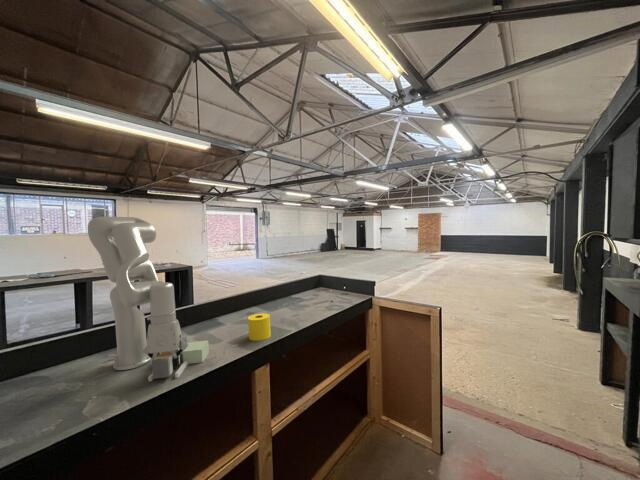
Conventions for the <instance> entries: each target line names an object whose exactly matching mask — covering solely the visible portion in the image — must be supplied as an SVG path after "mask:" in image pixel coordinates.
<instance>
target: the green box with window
mask: <svg viewBox="0 0 640 480" xmlns="http://www.w3.org/2000/svg"><path fill="white" fill-rule="evenodd" d="M181 335H182V339H183V340H184V341H185V342H186V343H187V344H188V347H187V348H186V349H185V350H184V351H183V352H181V354H180V364H179V365H178V366H179V368H178V369H177V370H176V371H175V373H174V378H175V379H179V377H180V376H181V374H182V373H183V372H184V371H185V369H186V368H187V366H188V365H192V364H193V365H194V364H199V363H204V361H205V359H206V358H207V356H208V355H209V353H210V348H209V346H210V345H209V340H208V339H207V340H200V341H199V340H198V341H189V342H188V339H187V337H188V336H187V334H186V333H185V332H184V333H183V332H181ZM181 348H182V346H179V350H180V349H181ZM147 380H148V382H152V381H153V380H154V379H153V372H152V373H150V374H149V375H148V378H147Z"/></svg>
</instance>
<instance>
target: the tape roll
mask: <svg viewBox="0 0 640 480" xmlns="http://www.w3.org/2000/svg"><path fill="white" fill-rule="evenodd" d="M247 322H248V325H247V327H248V339H249V340H250V341H255V342H256V341H257V342H258V341H264V340H267V339H270V337H271V336H272V332H271V315H270V314H268V313H265V312H264V313H254V314H252V315H249V316H248V318H247Z"/></svg>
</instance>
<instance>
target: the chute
mask: <svg viewBox="0 0 640 480" xmlns="http://www.w3.org/2000/svg"><path fill="white" fill-rule="evenodd" d="M178 349H179V348H178ZM172 359H173V355H172V352H163V353H160V354H159V355H158V356H157V357H155V358H154V359H153V360H152V359H151V370H152V372H153V380H155V379H164V378H169V377H170V376H171V375H172V373H173V372H174V371H175V370H173V361H172ZM179 364H180V355H179Z"/></svg>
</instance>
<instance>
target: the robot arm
mask: <svg viewBox="0 0 640 480" xmlns="http://www.w3.org/2000/svg"><path fill="white" fill-rule="evenodd" d="M87 235H88V238H89V240H90V242H91V244H92V245H93V247H94V248H95V249H96V251H97V252H98V254H99V256H100V259H101V262H102V265H103V267H104V270H105V273H106V276H107V278H108V279H109V281H110V282H112V283H114V284H115V286H114V287H113V288H112V289H111V291H110V292H109V300H110V302H111V306H112V309H113V314H114V324H115V339H116V349H117V350H116V352H117V353H110V354H108V355H107V362H114V363H113V366H112V367H113V368H112V369H113V370H115V371H127V370H131V369H136V368H139V367H141V366H143V365H146V364H147V363H149V362H150V361H152V360H153V359H154V358H155V357H157V356H158V355H159V354H160V353H163V352H172V355H173V359H172V361H173V370H174V371H175V370H176V369H177V368H178V367H179V366H180V365H179V355H180V354H181V352H183V351H184V350H185V349H186V348H187V347H188V344H187V343H188V342H187V343H186V342H185V341H184V340H183V339H182V335H181V333H182V331H181V325H180V322H179V320H178V319H177V313H176V300H175V286H174V283H172V282H166V281H165V282H164V281H162V280H160V279H159V277H158V275H157V271H156V270H155V266H154V264H153V262H152V261H151V260H150V259H149V257H150V254H149V251H148V249H147V247H146V244H151V243H153V242H154V241H155V240H156V237H157V232H156V229H155V226H153V224H151V223H150V222H148V221H146V220H143V219H141V218H139V217H138V218H137V217H134V216H133V217H132V216H98V217H94V218H92V219H91V220H89V221H88V224H87ZM145 304H149V306H150V315H149V316H147V317H145V314H144V313H143V312H142V310H140V309H139V308H138V306H141V305H145ZM145 318H146V319H145ZM146 320H147V321H150V323H149V324H148V327H147V329H146ZM146 330H147V331H146ZM179 346H182V348H181V349H180V350H179V349H178V348H179Z"/></svg>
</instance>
